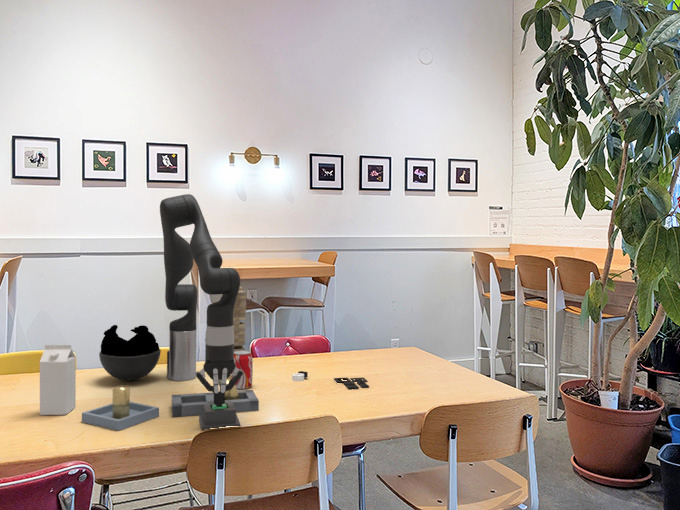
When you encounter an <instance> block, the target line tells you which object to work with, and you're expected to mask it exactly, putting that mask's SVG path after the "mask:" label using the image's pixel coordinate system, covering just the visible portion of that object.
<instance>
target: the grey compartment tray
mask: <svg viewBox="0 0 680 510" xmlns="http://www.w3.org/2000/svg"><path fill="white" fill-rule="evenodd" d="M237 391H238V394H239V396H240V399H238V400H225V402H229V401H233V403H234V406H235V408H236V413H245V412H246V413H247V412H256V411H257V412H258V411H259V409H260V400H259V398H258V397H257V395H256V393H255V392H254V390H253V389H241V390H237ZM203 403H214V393H213V392H211V391H209V392H197V393H196V392H195V393H181V394H179V393H178V394H172V395H171V416H172V418H179V417H180V418H181V417H194V416H199V415H203Z"/></svg>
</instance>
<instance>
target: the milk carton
mask: <svg viewBox="0 0 680 510" xmlns="http://www.w3.org/2000/svg"><path fill="white" fill-rule="evenodd" d="M76 364H77V363H76V355H75V353H74V351H73V349H72V345H71V344H45V345H44V350H43V352H42V355H41V358H40V360H39V415H40V416H59V415H60V416H61V415H62V416H65V415H68V414H69V413H70V412H71V411H72V410H74V409H75V408H76V407H77V406H76V403H77V402H76V400H77V399H76V392H77V391H76V389H77V388H76V387H77V386H76V378H77V377H76V375H77V373H76V367H77V365H76Z"/></svg>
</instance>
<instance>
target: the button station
mask: <svg viewBox="0 0 680 510" xmlns="http://www.w3.org/2000/svg"><path fill="white" fill-rule="evenodd" d="M224 404H226V405H227V408H226V409H212V405H214V403H203V415H198V421H199V426H200V429H201V431H206V430H205V429H210V428H219V427H226V426H240V427H241V422H240V420H239V417H238V414H237V412H236V408H235V406H234V403H233V401H229V402H225V403H224Z"/></svg>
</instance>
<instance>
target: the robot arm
mask: <svg viewBox="0 0 680 510" xmlns="http://www.w3.org/2000/svg"><path fill="white" fill-rule="evenodd" d="M202 212H203V211H202V209H201V207H200V205H199V203H198V200H197V198H196V197H195V196H194V195H193V194H190V193H187V194H181V195H175V196H171V197H167V198H164V199H161V201H160V204H159V214H160V221H161V228H162V237H163V262H164V263H163V264H164V272H165V273H164V274H165V292H164V299H165V300H164V301H165V306H166V308H167V309H168V310H169V311H173V312H174V311H175V312H176V311H178V312H179V311H181V312H182V311H187V313H186V314H185V315H183V316H182V317H179V318H176V319H174V320H172V321H170V322H169V329H168V332H169V335H168V336H169V337H168V338H169V340H168V341H169V343H168V345H169V350H167V352H166V379H169V380H171V381H174V382H175V381H178V382H180V381H181V382H184V381H191V380H194V379H198V380H199V382H200V383H201V384H202V386H203V387H204V388H205V389H206V390H207V392H213V393H214V404H215V405H216V406H217V407H222V404H224V403H225V392H226V391H228V390H231V389H232V388H233V387H234V385H235V384H236V383H237V381H238V380H239V379H240V378H241V376H242V375H243V372H242V370H240V369H238V368H237V367H236V365H235V363H234V329H233V310H234V306H235V302H236V298H237V295H238V291H239V288H240V287H241V276H240V273H239V271H237V269H236V268H234V267H222V266H223V257H222V255H221V253H220V251H219V249H218V248H217V246H216V244H215V242H214V241H213V239H212V237H211V233H210V231H209V229H208V226H207V223H206V220H205V217H204V215H203V213H202ZM190 225H194V228H193V233H192V234H191V235H192V236H191V238H190V241H188V240H186V239H185V238H184V237H182V236H181V235H180V234H179V233H178V232H177V231H176V229H177V228H178V229H179V228H181V227H182V228H183V227H186V226H190ZM194 263H195V265H196V267H197V269H198V275H199V286H200V288H201V290H202V291H203V292H204V293H206V295H210V296H213V295H221V297H220V299H219V300H218V301H215V302H213V303H211V304H209V305H208V306H207V308H206V329H205V338H204V341H205V343H204V344H205V350H204V351H205V361H204V364H203V368H202V369H200V370H198V371H197V311H198V310H197V309H198V288H197V286H196V285H195V284H187V283H186V284H179V283H181V281H182V280H184V279H185V278H186V277H187V276H188V275H189V274H190V272H191V271H192V269H193V267H194ZM233 371H234V373H233V375H234V376H233V377H232V379H231V380H230V381H229V383H228V384H227V385H226V379H227V378H229V376H230V375H231V373H232V372H233ZM206 374H207V376H208V377H209V378H210V379H211V380H212V385H211V384H210V383H209V382H208V380H207V379H206ZM218 380H220V387H219V384H218Z"/></svg>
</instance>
